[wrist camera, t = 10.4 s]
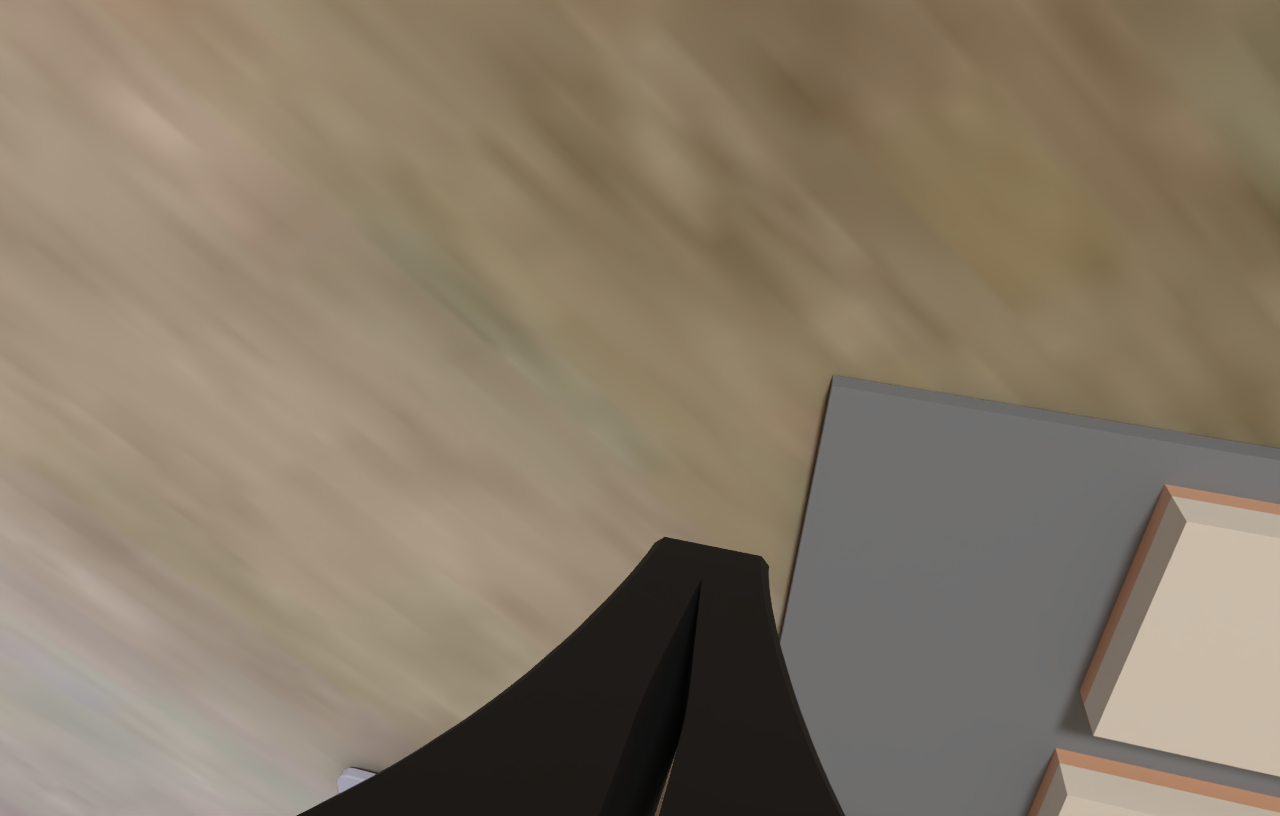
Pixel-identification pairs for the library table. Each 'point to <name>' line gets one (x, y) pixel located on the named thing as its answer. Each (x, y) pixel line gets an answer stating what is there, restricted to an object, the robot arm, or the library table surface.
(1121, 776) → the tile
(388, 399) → the library table surface
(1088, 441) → the slate mat
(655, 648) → the robot arm
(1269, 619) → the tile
